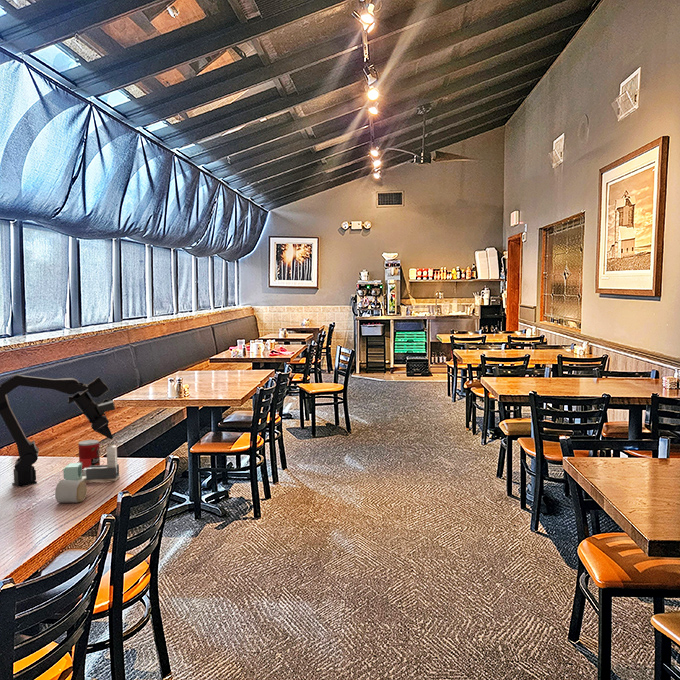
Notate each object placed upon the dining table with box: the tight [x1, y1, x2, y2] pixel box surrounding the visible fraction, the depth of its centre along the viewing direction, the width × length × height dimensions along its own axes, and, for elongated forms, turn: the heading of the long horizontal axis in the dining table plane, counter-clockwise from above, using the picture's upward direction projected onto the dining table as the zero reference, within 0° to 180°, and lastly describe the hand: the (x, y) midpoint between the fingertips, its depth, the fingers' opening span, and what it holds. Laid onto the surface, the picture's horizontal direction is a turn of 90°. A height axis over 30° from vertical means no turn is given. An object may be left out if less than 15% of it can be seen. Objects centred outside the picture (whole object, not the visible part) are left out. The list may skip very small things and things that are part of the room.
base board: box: [78, 474, 120, 484], centre depth 222 cm, size 19×6×1 cm, turn 98°
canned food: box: [78, 439, 101, 469], centre depth 239 cm, size 8×8×11 cm
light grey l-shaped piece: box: [82, 445, 118, 476], centre depth 222 cm, size 12×3×11 cm, turn 98°
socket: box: [62, 462, 83, 481], centre depth 221 cm, size 5×6×5 cm
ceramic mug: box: [54, 479, 88, 504], centre depth 200 cm, size 11×8×8 cm
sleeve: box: [86, 463, 120, 480], centre depth 223 cm, size 11×5×4 cm, turn 98°
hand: (111, 436), depth 232 cm, fingers open, 9 cm apart
